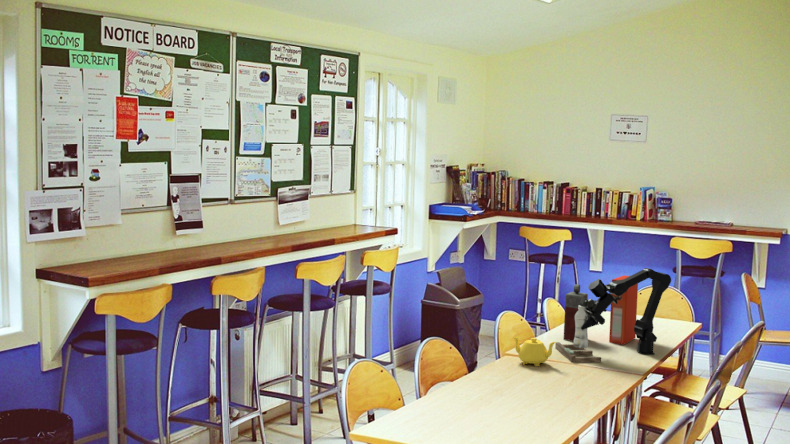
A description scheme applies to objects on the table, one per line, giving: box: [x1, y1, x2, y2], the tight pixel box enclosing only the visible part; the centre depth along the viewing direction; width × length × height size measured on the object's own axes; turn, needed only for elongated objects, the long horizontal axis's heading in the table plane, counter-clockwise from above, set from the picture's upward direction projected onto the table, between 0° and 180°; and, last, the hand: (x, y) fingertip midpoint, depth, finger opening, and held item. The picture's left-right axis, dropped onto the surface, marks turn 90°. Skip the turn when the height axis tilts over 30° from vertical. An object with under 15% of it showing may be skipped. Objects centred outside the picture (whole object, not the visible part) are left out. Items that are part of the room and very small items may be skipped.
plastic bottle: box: [573, 305, 589, 349], centre depth 361 cm, size 6×7×20 cm
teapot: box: [512, 335, 557, 367], centre depth 346 cm, size 20×15×12 cm
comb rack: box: [554, 341, 602, 363], centre depth 362 cm, size 14×24×4 cm, turn 5°
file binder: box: [608, 275, 639, 346], centre depth 393 cm, size 8×17×32 cm, turn 146°
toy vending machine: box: [563, 283, 589, 342], centre depth 393 cm, size 9×11×28 cm
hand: (578, 327), depth 361 cm, fingers closed on plastic bottle, 6 cm apart
